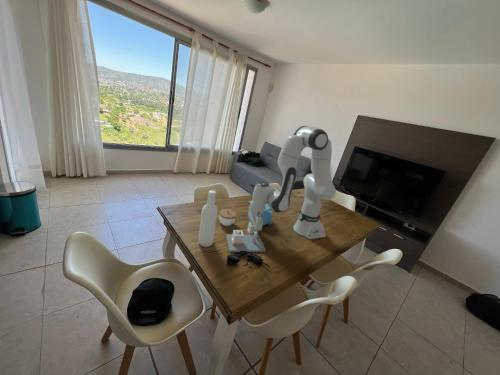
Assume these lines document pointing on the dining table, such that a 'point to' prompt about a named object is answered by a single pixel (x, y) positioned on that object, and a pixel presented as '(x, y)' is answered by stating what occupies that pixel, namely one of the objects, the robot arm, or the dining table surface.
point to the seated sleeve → (237, 238)
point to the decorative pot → (266, 215)
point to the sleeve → (251, 229)
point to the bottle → (208, 221)
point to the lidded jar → (227, 217)
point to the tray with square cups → (246, 243)
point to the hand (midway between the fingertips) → (252, 227)
